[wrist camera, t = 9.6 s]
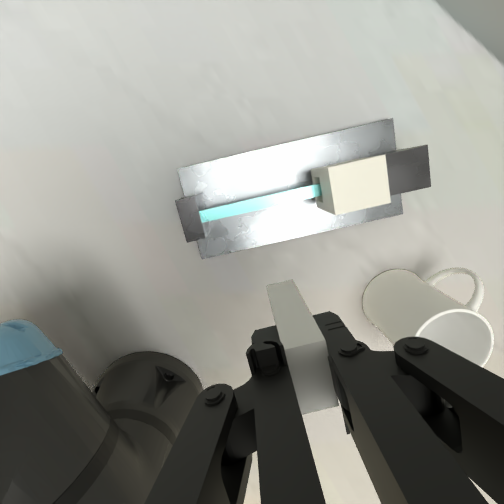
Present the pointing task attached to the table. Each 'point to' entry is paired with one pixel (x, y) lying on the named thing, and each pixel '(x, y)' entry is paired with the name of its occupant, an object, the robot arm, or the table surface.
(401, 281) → the mug
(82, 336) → the table surface
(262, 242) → the glowing rod on plate
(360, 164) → the sleeve
